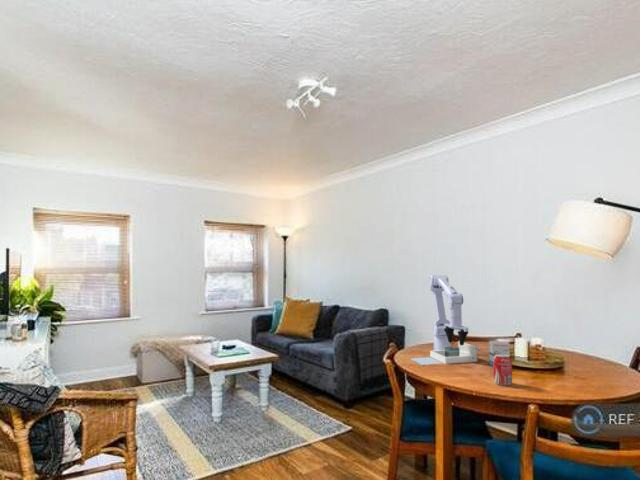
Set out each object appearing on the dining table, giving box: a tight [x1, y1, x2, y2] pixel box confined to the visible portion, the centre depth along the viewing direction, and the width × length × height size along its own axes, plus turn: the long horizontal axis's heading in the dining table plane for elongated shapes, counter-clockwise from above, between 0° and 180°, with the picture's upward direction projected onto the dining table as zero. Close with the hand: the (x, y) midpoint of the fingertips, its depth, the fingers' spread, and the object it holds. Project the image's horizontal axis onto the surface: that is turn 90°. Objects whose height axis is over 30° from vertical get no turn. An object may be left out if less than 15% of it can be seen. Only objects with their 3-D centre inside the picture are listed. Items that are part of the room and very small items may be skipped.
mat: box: [410, 356, 443, 367], centre depth 202 cm, size 13×11×1 cm
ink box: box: [488, 340, 511, 367], centre depth 194 cm, size 9×5×12 cm, turn 84°
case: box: [429, 340, 480, 365], centre depth 205 cm, size 17×18×8 cm
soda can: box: [492, 354, 513, 387], centre depth 166 cm, size 7×7×12 cm
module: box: [445, 346, 460, 357], centre depth 206 cm, size 4×6×6 cm
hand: (456, 343), depth 204 cm, fingers open, 7 cm apart
